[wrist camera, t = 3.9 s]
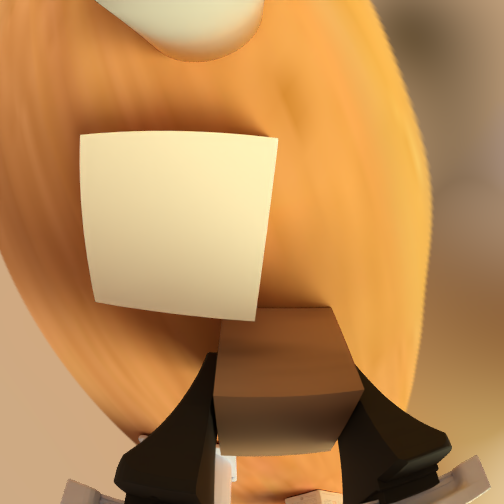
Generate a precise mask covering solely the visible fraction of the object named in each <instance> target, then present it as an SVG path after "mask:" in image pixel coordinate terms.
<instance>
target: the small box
mask: <svg viewBox="0 0 504 504" xmlns="http://www.w3.org/2000/svg"><path fill="white" fill-rule="evenodd" d="M285 504H343V496H342V494H341V493H335V492H329V491H324V490H315V491H312V492H309V493H305V494H302V495H298V496H294V497H290V498H286V499H285Z"/></svg>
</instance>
